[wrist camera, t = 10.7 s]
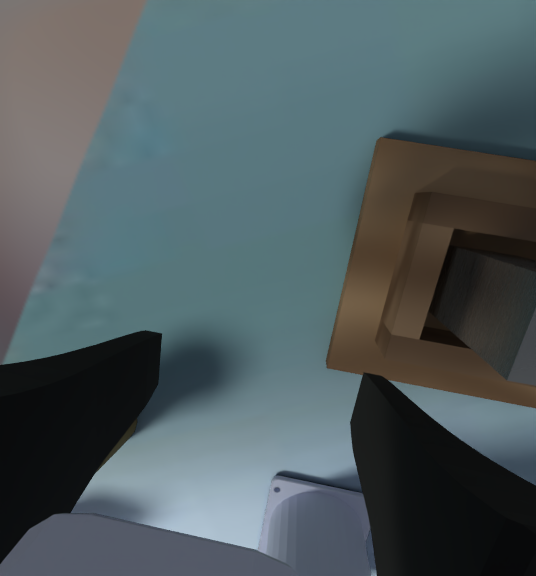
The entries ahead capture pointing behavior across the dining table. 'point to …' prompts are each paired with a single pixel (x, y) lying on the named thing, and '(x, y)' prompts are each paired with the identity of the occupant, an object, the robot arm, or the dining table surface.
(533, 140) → the dining table surface
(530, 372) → the metal pin
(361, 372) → the socket holder
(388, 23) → the dining table surface
